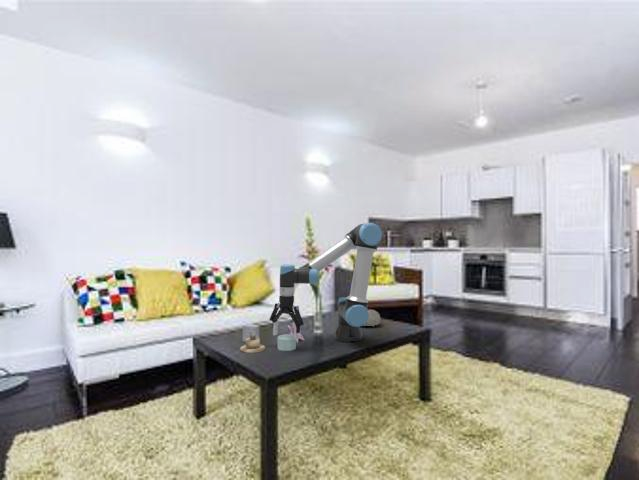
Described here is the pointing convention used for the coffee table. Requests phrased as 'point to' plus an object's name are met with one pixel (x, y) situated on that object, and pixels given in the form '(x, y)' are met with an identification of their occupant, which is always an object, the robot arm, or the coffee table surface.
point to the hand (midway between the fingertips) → (285, 336)
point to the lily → (293, 331)
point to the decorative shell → (372, 318)
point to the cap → (286, 342)
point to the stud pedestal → (252, 344)
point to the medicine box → (247, 331)
